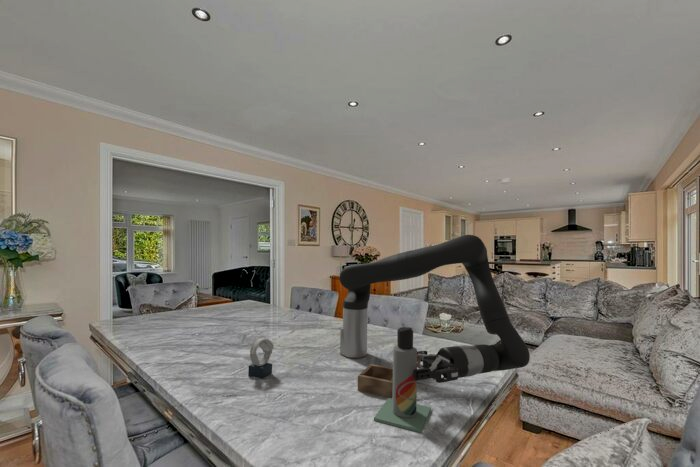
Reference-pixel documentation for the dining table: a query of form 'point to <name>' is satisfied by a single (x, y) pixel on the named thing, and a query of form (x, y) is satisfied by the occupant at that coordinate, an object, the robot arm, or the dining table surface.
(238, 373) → the dining table surface
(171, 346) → the dining table surface
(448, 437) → the dining table surface
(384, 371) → the walnut holder
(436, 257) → the robot arm
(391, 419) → the sage mat
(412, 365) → the lotion bottle
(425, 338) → the dining table surface
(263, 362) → the watch
